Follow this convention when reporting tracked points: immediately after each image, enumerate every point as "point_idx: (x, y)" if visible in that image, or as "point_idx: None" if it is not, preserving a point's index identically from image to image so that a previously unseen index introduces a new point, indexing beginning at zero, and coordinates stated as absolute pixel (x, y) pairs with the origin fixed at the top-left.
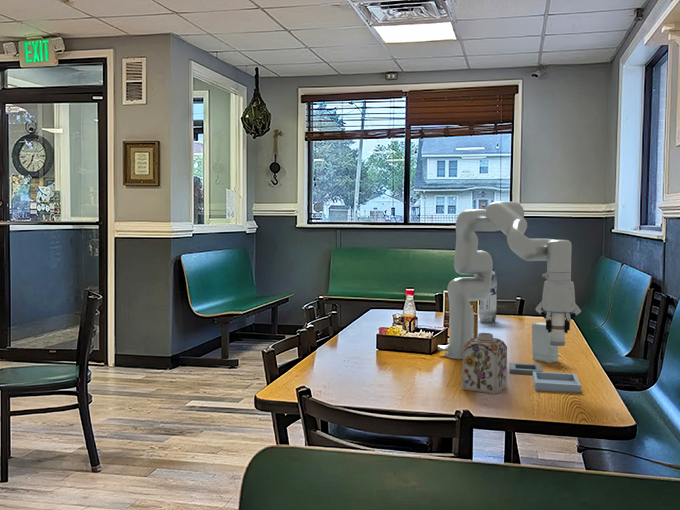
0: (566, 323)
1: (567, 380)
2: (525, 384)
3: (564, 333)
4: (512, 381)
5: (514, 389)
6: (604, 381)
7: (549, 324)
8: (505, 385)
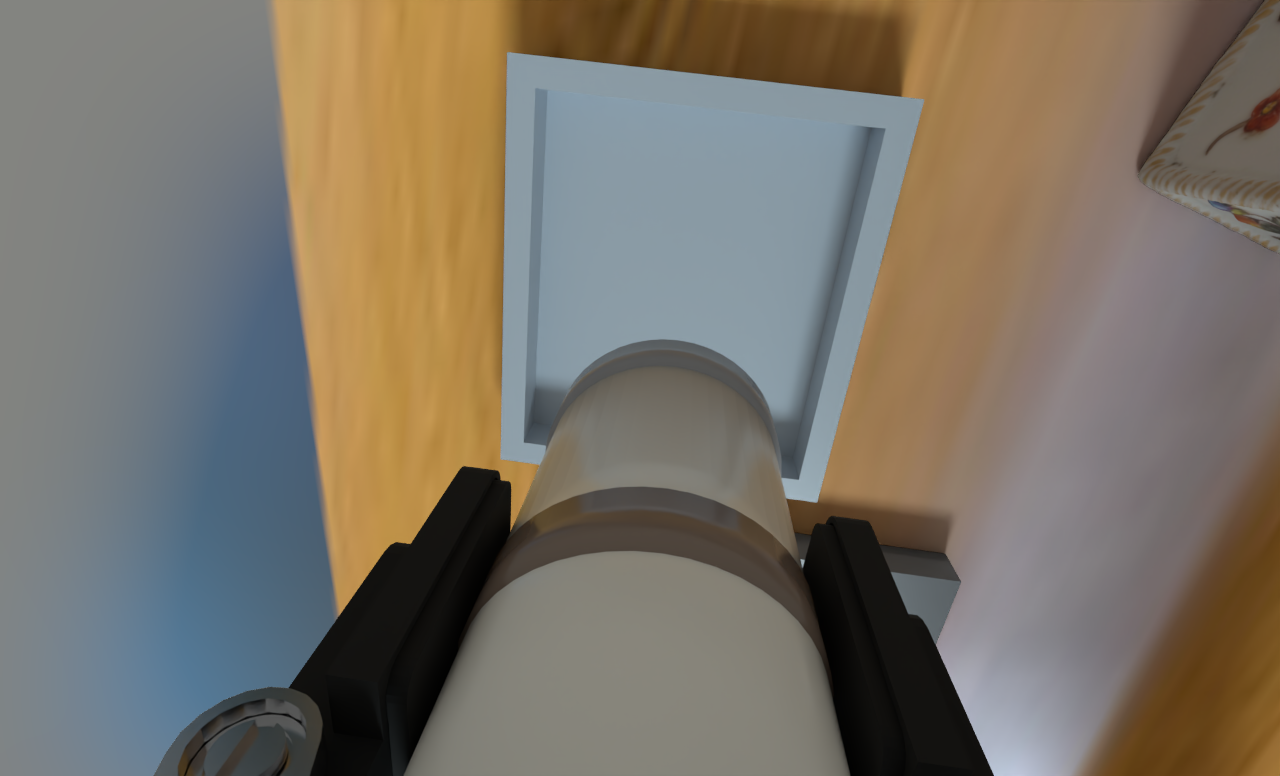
0: (401, 623)
1: None
2: (920, 295)
3: (527, 494)
4: (996, 376)
5: (1086, 102)
6: (323, 449)
7: (904, 651)
8: (1171, 143)
